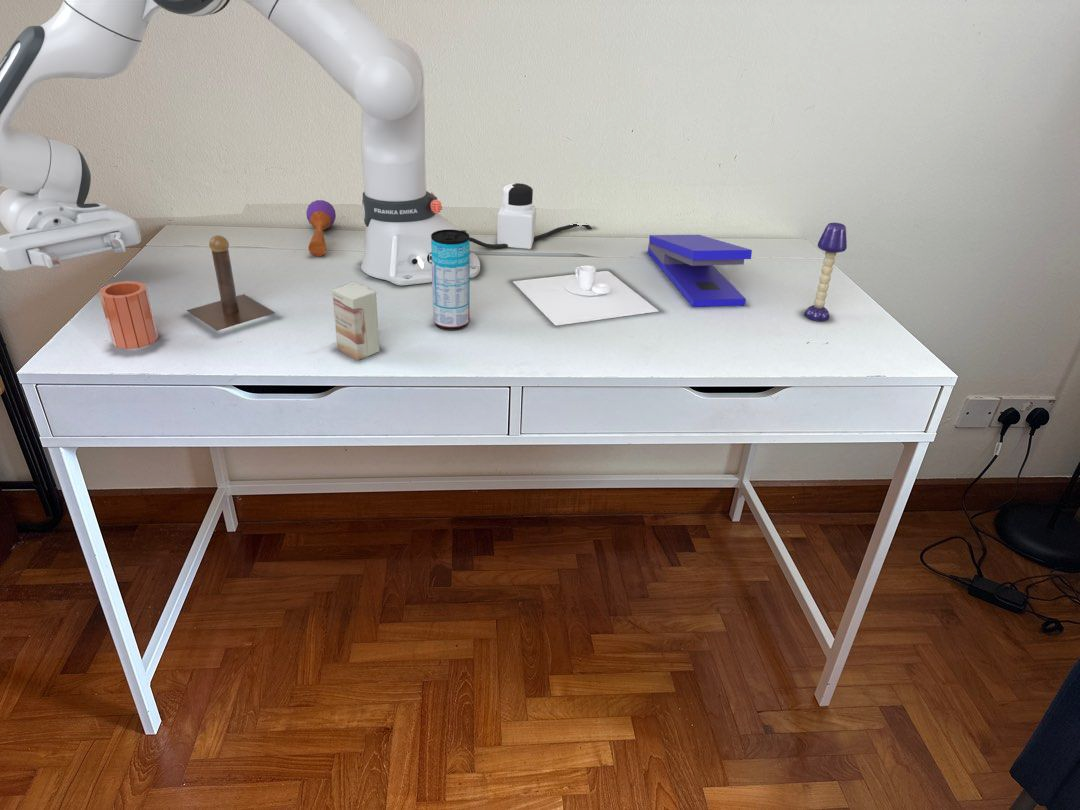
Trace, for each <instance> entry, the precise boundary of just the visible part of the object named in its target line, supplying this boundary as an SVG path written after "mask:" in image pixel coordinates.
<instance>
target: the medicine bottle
mask: <svg viewBox="0 0 1080 810" xmlns="http://www.w3.org/2000/svg"><path fill="white" fill-rule="evenodd" d="M533 193H534V189H533V188H532V186H530V185H528V184H525V183H519V182H514V183H509V184H506V185H505V186H503V188H502V205H501V207H500V209H499V211H498V213H497V236H496V237H497V239H496V240H497V241H496V242H497V243H496V244H507V245H508V247H507V248H512V249H523V250H531V249H532V247H533V244H534V241H533V240H534V237H535V236H536V220H537V219H536V218H537V217H536V216H537V206H535V205H533V196H534V194H533Z"/></svg>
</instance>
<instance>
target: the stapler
mask: <svg viewBox="0 0 1080 810" xmlns="http://www.w3.org/2000/svg"><path fill="white" fill-rule="evenodd" d="M752 253H753V249H751V248H747V247H743V246H739V245H737V244H734V243H730V242H727V241H722V240H719V239H716V238H712V237H708V236H706V235H703V234H649V240H648V247H647V254H648V256H649V257H650V258H651V259H652V261H653V262H654V263H655V264H656V265H657V266H658V267H659V269H660V270H661V271H662V272H663V273H664V275H665V276H666V277H667V279H669V281H670V282H671V283H672V284H673V285H674V286H675V288H676V289H677V290H678V291H679V292H680V294H681V295H682V296H683V297H684V298H685V300H686V301H687V302H688V303H689V304H690V306H691V307H693V308H701V307H702V308H704V307H732V306H733V307H734V306H735V307H736V306H739V307H740V306H745V304H746V300H747V299H746V297H745V296H744V295H743V294H742V293H741V292H740V291H739V290H738V289H737V288H736V287H735V286H734V285H733V284H732V283H731V282H730V281H728V279H727V278H725V276H724V275H723V274H722V273H721V272H720V271H719V270H718V269H716V268H715V266H743V265H745V260H752V256H753V255H752Z"/></svg>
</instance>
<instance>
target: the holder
mask: <svg viewBox="0 0 1080 810" xmlns="http://www.w3.org/2000/svg"><path fill="white" fill-rule="evenodd" d="M208 247H209V249H210V250H211V255H212V260H213V265H214V266H213V267H214V271H215V276H216V282H217V286H218V293H219V298H220V300H219V301H218V300H217V301H213V302H211V303H207V304H204V305H200V306H197V307H196V306H195V307H193V308H190V309H189V308H188V309H186V311H187V312H188V313H190V314H191V315H192V316H194V317H196V318H197V319H199V320H200V321H201V322H203V323H204V324H206V325H208V326H209V327H210V328H212V329H214V330H215V331H220V330H221V331H222V330H224V329H228V328H230V327H234V326H238V325H240V324H243V323H247V322H250V321H254V320H257V319H260V318H263V317H266V316H271V315H273V314H276V312H275V311H273V310H272V309H270V308H268V307H267V306H265V305H263V304H261V303H260V302H258V301H256V300H255V299H253V298H251V297H250V296H248V295H246V294H245V293H243V294H239V295H237V292H236V287H235V281H234V275H233V269H232V263H231V258H230V252H229V251H230V250H229V248H230V243H229V240H228V239H227V238H226V237H225V236H223V235H220V234H219V235H218V234H217V235H213V236H212V237H211V238H210V240H209V242H208Z"/></svg>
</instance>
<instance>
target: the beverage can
mask: <svg viewBox="0 0 1080 810" xmlns="http://www.w3.org/2000/svg"><path fill="white" fill-rule="evenodd" d="M460 230H461V229H460ZM460 230H451V229H448V230H439V231H436V232H434V233H432V234H431V254H432V282H431V284H432V286H431V287H432V320H433V323H434V325H435V326H436V327H437V328H439V329H441V330H444V331H458V330H463V329H465V328H466V327H467V326H468V325H469V323H470V320H471V319H470V318H471V317H470V312H471V311H470V306H471V305H470V297H471V296H470V293H471V292H470V290H471V289H470V283H471V282H470V281H471V280H470V279H471V278H470V251H471V250H470V248H471V247H470V241H469V237H470V234H469V233H468V232H467V231H466V232H464V231H460Z"/></svg>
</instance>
